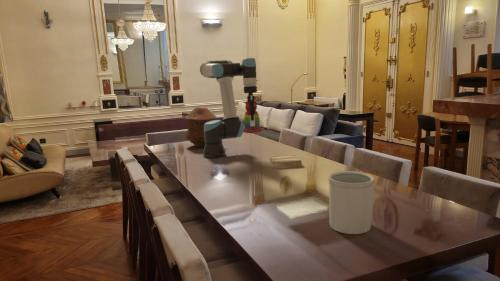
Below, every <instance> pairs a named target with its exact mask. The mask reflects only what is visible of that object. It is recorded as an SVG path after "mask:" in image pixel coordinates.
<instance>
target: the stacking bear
mask: <svg viewBox="0 0 500 281" xmlns="http://www.w3.org/2000/svg"><path fill="white" fill-rule="evenodd" d="M244 103H245V110H246V111H245V112H244V115H243V124H244V130H243V133H244V134H256V133H260V132H262V131H263V129H262V127H260V123H261V121H260V119H261V118H260V115H259V112H258V111H257V109H258V105H257V101H255V100H254V112H255V114H254V115H255V126H250V115H249V113H250V108H249V104H248V101H245V102H244Z"/></svg>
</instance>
